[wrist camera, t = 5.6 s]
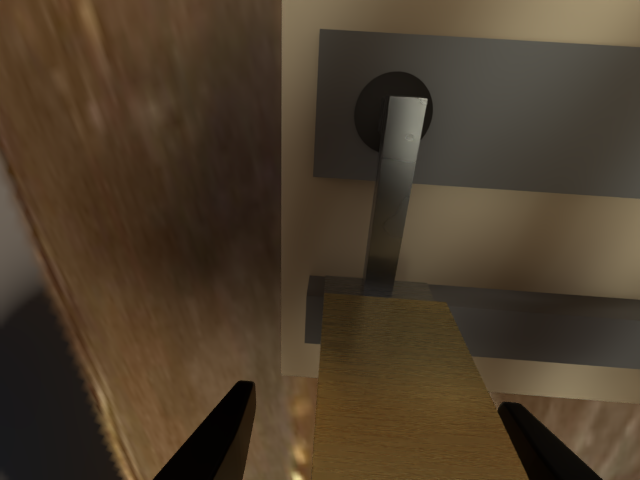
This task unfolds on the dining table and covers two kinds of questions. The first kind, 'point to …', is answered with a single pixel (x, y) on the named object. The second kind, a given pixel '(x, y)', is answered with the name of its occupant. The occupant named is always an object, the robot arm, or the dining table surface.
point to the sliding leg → (400, 354)
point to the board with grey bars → (475, 178)
